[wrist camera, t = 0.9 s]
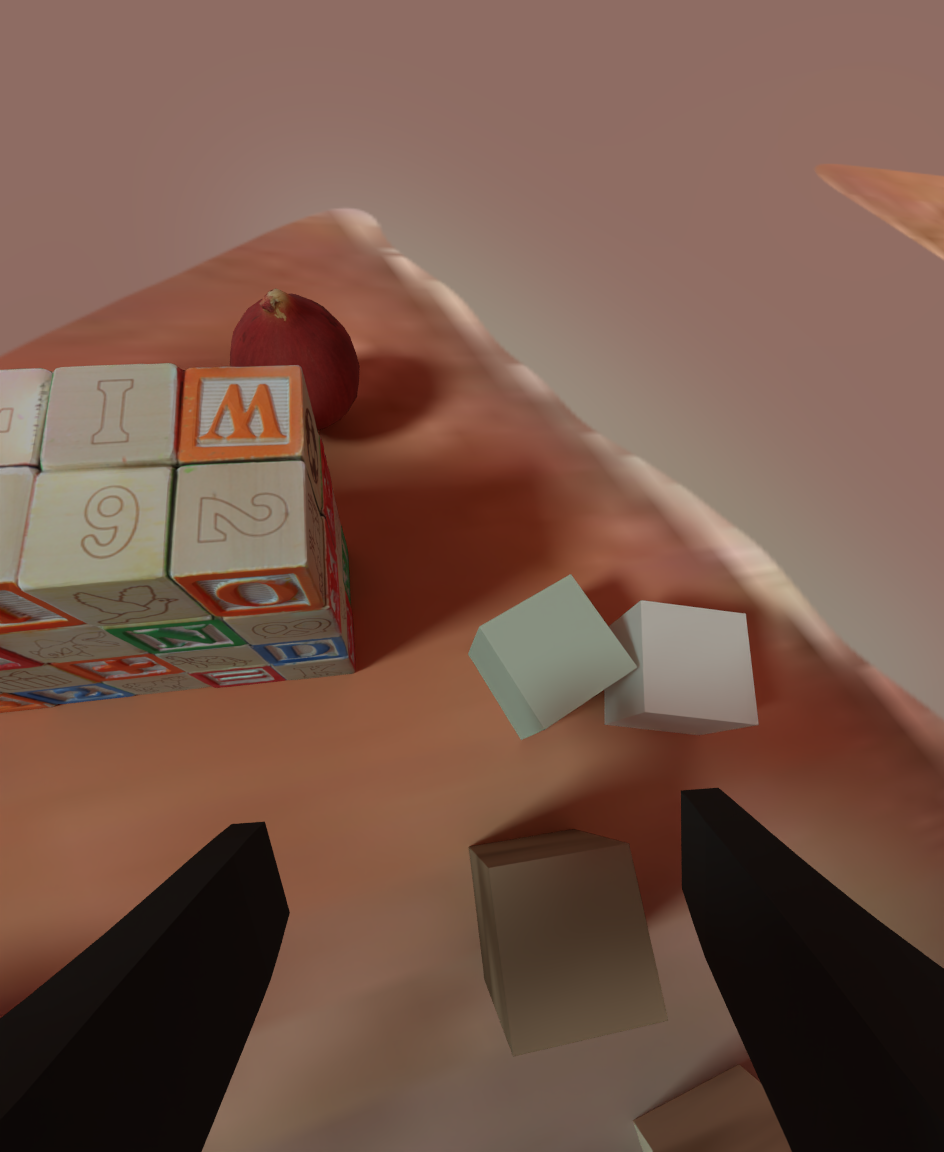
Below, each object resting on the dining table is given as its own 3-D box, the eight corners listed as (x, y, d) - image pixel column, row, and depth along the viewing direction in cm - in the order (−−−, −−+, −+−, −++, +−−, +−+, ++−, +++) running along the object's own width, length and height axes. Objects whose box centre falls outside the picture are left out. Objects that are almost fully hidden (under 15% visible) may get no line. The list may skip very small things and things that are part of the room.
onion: (262, 375, 29) (211, 233, 21) (367, 380, 29) (352, 244, 22) (249, 462, 27) (187, 338, 19) (362, 466, 27) (344, 347, 20)
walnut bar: (597, 955, 20) (668, 1020, 14) (484, 979, 19) (513, 1056, 14) (573, 829, 22) (628, 843, 16) (468, 846, 21) (488, 868, 15)
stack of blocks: (-203, 740, 20) (-1023, 680, 8) (-155, 590, 22) (-752, 383, 11) (359, 673, 23) (310, 565, 12) (351, 548, 25) (303, 356, 14)
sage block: (598, 687, 24) (637, 667, 20) (520, 740, 23) (544, 729, 19) (544, 609, 25) (570, 574, 21) (467, 654, 24) (479, 626, 20)
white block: (698, 735, 24) (758, 724, 20) (603, 724, 23) (644, 711, 19) (691, 641, 26) (745, 613, 21) (603, 630, 25) (640, 600, 21)
